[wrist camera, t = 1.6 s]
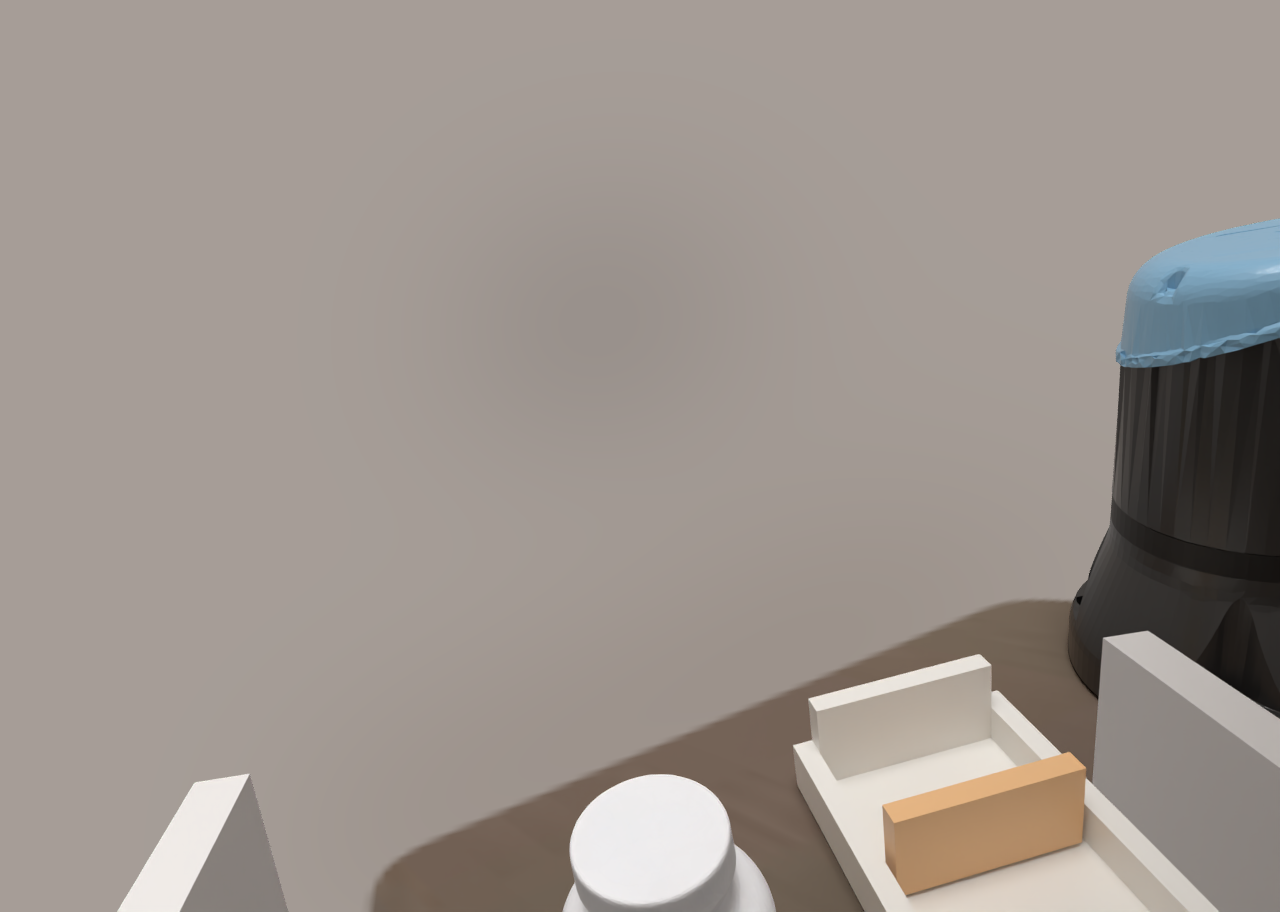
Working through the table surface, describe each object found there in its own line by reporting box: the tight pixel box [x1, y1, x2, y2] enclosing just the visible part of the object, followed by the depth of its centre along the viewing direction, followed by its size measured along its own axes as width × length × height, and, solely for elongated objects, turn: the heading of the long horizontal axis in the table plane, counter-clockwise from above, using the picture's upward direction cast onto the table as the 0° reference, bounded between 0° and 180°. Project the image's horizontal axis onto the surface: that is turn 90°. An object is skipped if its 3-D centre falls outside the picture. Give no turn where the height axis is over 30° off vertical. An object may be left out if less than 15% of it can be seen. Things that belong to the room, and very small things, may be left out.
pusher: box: [882, 752, 1086, 895], centre depth 34 cm, size 8×1×4 cm, turn 101°
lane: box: [793, 654, 1219, 912], centre depth 33 cm, size 11×18×5 cm, turn 11°
